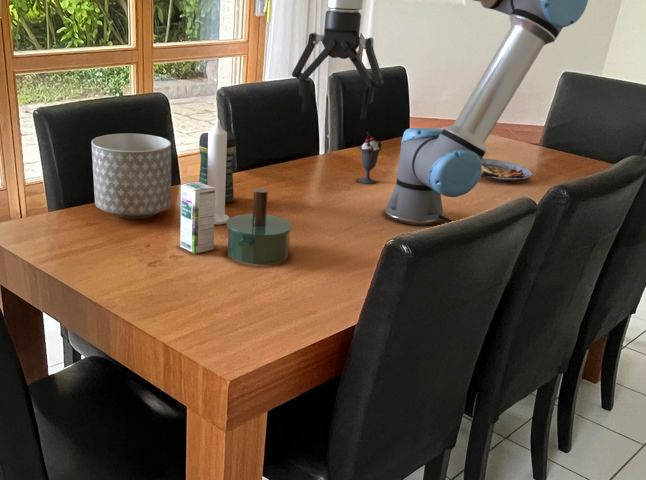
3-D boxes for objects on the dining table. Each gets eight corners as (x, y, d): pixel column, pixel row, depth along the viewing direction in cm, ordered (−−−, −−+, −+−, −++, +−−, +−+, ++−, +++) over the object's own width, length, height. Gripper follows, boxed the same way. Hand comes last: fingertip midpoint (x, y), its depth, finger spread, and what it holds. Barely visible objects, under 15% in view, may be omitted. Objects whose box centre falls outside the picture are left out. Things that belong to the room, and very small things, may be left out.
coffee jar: (213, 208, 198) (214, 136, 189) (192, 201, 203) (193, 130, 193) (238, 201, 204) (241, 132, 195) (218, 195, 209) (220, 126, 200)
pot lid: (299, 224, 170) (302, 186, 166) (279, 244, 158) (282, 204, 154) (239, 215, 174) (241, 178, 170) (216, 233, 162) (216, 194, 157)
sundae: (353, 182, 228) (359, 132, 220) (359, 177, 233) (365, 128, 226) (374, 185, 226) (380, 135, 218) (379, 180, 231) (386, 131, 224)
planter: (79, 214, 188) (74, 140, 179) (134, 199, 201) (132, 130, 192) (133, 232, 178) (130, 155, 169) (186, 215, 192) (187, 143, 183)
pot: (298, 247, 175) (300, 219, 172) (272, 274, 159) (274, 244, 156) (243, 238, 179) (245, 210, 175) (213, 264, 163) (214, 234, 159)
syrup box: (179, 247, 171) (179, 184, 164) (200, 242, 174) (200, 180, 167) (194, 254, 167) (194, 190, 160) (215, 249, 171) (216, 186, 164)
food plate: (539, 187, 234) (542, 176, 233) (466, 183, 234) (468, 171, 232) (517, 167, 256) (519, 157, 254) (450, 163, 256) (451, 153, 254)
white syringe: (219, 226, 185) (221, 122, 173) (196, 220, 188) (197, 117, 176) (234, 219, 191) (238, 118, 178) (212, 214, 194) (214, 113, 181)
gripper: (405, 14, 157) (391, 118, 168) (292, 5, 164) (285, 106, 174) (399, 16, 151) (385, 124, 162) (282, 6, 158) (276, 111, 168)
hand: (333, 115), depth 168 cm, fingers open, 13 cm apart
